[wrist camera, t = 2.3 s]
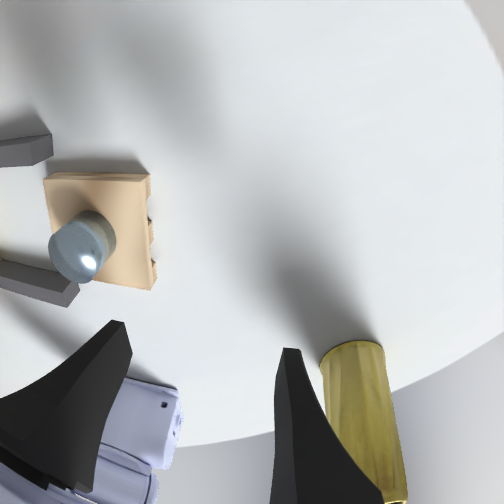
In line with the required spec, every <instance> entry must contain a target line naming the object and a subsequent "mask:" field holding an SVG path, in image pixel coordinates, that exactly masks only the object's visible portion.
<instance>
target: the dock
mask: <svg viewBox="0 0 504 504" xmlns="http://www.w3.org/2000/svg"><path fill="white" fill-rule="evenodd" d="M51 156H53V146H52V134H50V135H41V136H33V137H25V138H18V139H11V140H5V141H0V168H2V167H17V166H33V165H35V164H37V163H39V162H41V161H43V160H45V159H47V158H49V157H51ZM0 287H1V288H3V289H6V290H9V291H12V292H15V293H19V294H22V295H25V296H28V297H31V298H35V299H38V300H41V301H45V302H48V303H52V304H55V305H59V306H62V307H66V308H67V307H68V306H69V305H70V303H71V302H72V301H73V299H74V298H75V297H76V295H77V294H78V293H79V291H80V289H79V286H78V283H75V282H72V281H70V280H68V279H67V278H65V277H64V276H63V275H62V274H61V273H58V272H53V271H49V270H44V269H40V268H35V267H31V266H27V265H22V264H18V263H14V262H10V261H6V260H2V259H1V257H0Z"/></svg>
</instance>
